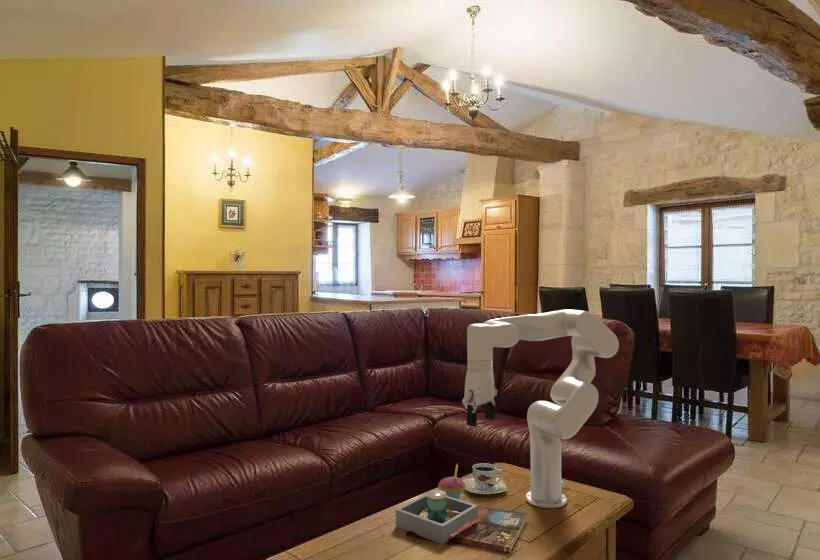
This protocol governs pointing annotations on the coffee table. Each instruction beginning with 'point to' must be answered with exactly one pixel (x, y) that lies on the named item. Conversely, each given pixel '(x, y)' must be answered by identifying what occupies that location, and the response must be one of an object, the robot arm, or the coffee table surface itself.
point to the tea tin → (437, 506)
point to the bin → (430, 529)
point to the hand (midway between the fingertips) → (480, 422)
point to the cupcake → (452, 485)
